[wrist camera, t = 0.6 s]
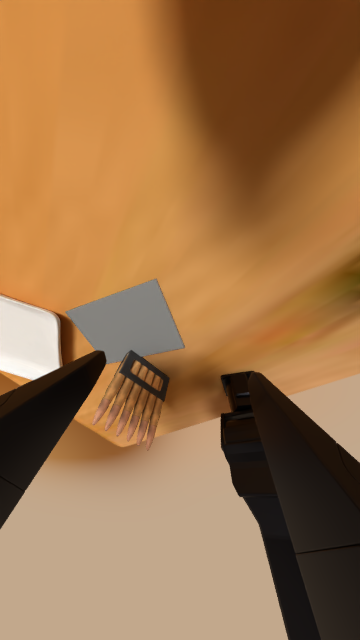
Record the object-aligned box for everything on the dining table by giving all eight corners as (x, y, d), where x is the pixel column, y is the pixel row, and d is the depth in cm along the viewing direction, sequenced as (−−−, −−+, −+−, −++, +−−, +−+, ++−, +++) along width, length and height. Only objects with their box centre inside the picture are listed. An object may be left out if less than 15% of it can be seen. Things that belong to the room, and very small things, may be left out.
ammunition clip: (169, 378, 29) (156, 451, 19) (164, 381, 30) (148, 453, 20) (131, 349, 26) (89, 419, 16) (125, 353, 27) (82, 423, 17)
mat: (184, 346, 25) (184, 347, 25) (107, 362, 29) (106, 364, 29) (156, 278, 19) (155, 279, 19) (66, 311, 24) (65, 311, 24)
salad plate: (72, 308, 24) (54, 316, 21) (73, 378, 34) (62, 391, 31) (-55, 260, 22) (-94, 262, 19) (-14, 349, 32) (-35, 360, 29)
